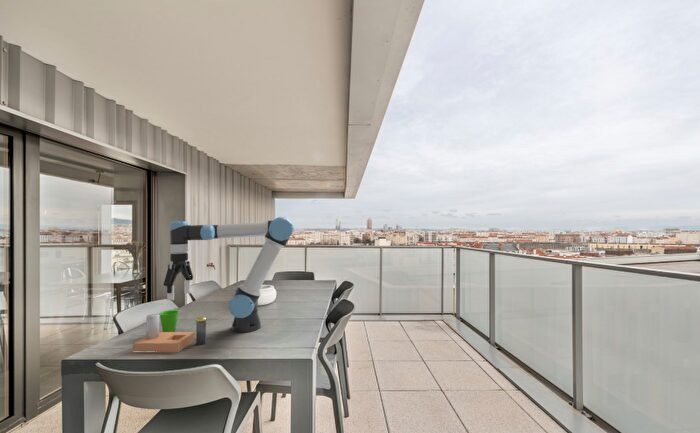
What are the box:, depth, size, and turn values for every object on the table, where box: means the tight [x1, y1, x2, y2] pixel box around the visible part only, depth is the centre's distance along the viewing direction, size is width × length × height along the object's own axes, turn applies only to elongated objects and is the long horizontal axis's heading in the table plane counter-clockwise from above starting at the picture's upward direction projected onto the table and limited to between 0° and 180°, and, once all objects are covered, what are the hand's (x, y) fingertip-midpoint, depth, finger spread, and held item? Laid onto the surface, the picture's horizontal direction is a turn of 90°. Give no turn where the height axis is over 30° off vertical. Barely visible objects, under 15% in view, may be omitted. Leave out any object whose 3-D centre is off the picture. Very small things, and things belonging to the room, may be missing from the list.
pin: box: [195, 316, 208, 346], centre depth 141 cm, size 5×5×12 cm
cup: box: [159, 309, 180, 332], centre depth 154 cm, size 9×9×11 cm
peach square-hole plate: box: [132, 313, 196, 353], centre depth 138 cm, size 20×14×14 cm
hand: (179, 296), depth 145 cm, fingers open, 13 cm apart
